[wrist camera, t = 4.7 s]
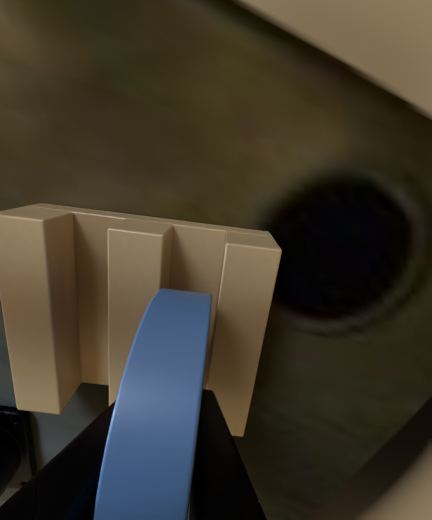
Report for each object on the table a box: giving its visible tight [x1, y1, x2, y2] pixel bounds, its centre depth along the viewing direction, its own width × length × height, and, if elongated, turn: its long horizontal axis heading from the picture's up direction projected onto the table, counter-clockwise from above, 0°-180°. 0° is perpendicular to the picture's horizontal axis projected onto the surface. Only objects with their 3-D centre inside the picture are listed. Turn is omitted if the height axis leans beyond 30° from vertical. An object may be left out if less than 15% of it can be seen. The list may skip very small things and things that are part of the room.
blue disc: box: [93, 288, 212, 520], centre depth 8 cm, size 7×2×7 cm, turn 173°
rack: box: [0, 203, 282, 437], centre depth 12 cm, size 9×10×3 cm
